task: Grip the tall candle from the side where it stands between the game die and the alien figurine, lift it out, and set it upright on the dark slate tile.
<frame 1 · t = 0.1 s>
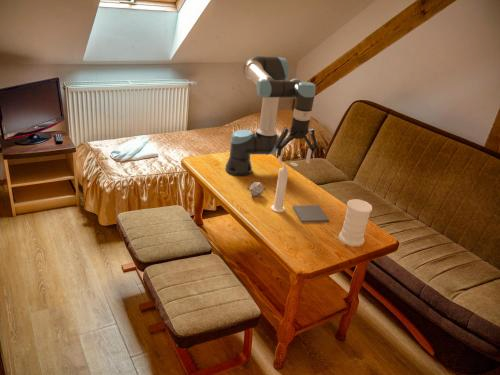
hand: (293, 162, 201), 28 cm above the table, tool pointing down, fingers open, 13 cm apart
slate tile: (310, 214, 216), on the table
decorative container: (351, 239, 200), on the table
game die: (255, 196, 227), on the table
candle: (277, 209, 217), on the table
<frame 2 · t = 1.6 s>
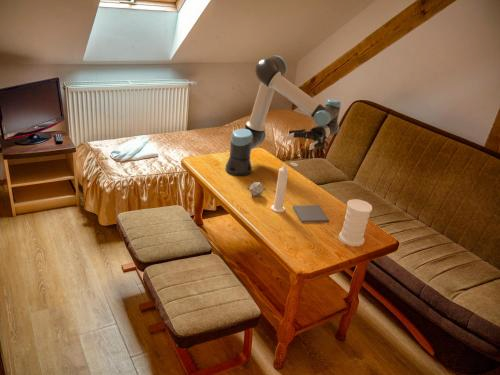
hand: (297, 142, 209), 33 cm above the table, tool horizontal, fingers open, 13 cm apart
nothing on the table moved.
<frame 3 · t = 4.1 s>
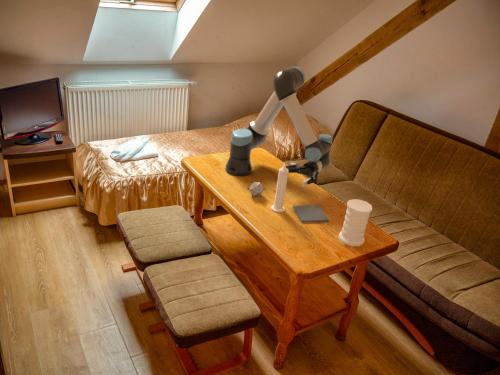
hand: (291, 179, 216), 14 cm above the table, tool horizontal, fingers open, 13 cm apart
nothing on the table moved.
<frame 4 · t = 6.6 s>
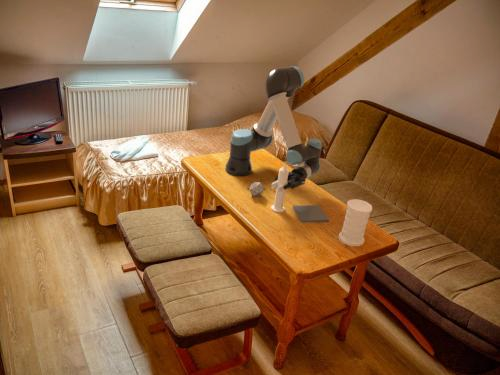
hand: (275, 187, 207), 14 cm above the table, tool horizontal, fingers open, 3 cm apart
candle: (277, 209, 217), on the table, touching gripper
everything else where it was.
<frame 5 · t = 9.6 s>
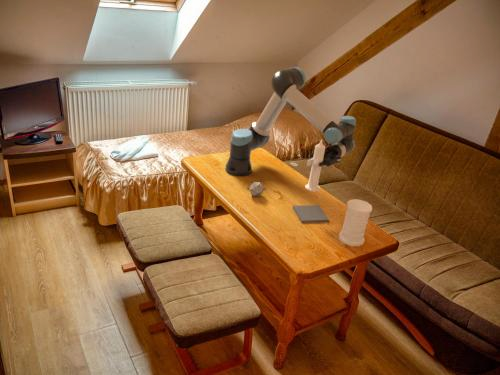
hand: (311, 164, 198), 29 cm above the table, tool horizontal, fingers closed on candle, 3 cm apart
candle: (312, 188, 209), point 15 cm above the table, touching gripper
everything else where it was.
when the fingers open (16 cm above the table, at t = 12.1 s): candle stays where it is, resting on slate tile.
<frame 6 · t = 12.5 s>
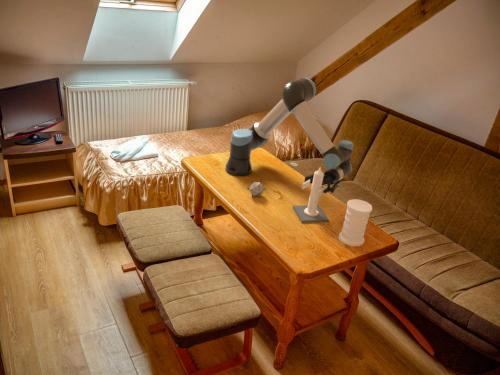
hand: (310, 189, 205), 16 cm above the table, tool horizontal, fingers open, 8 cm apart
candle: (311, 213, 215), point 1 cm above the table, touching slate tile
everything else where it was.
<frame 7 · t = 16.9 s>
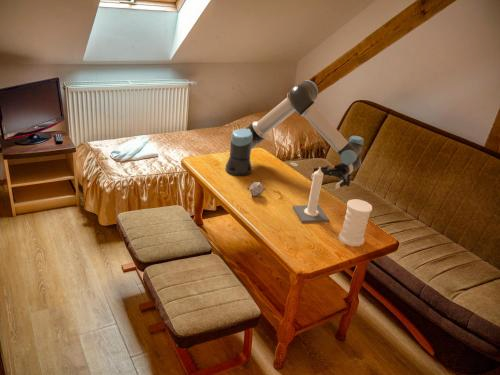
hand: (323, 181, 214), 16 cm above the table, tool horizontal, fingers open, 13 cm apart
nothing on the table moved.
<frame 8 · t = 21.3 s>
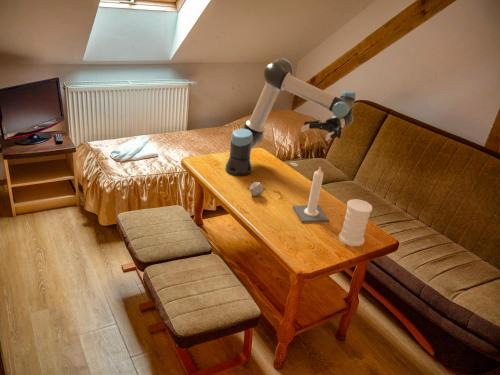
hand: (314, 133, 208), 38 cm above the table, tool horizontal, fingers open, 13 cm apart
nothing on the table moved.
at the end: candle inside the target area on the slate tile (0.3 cm from its centre), point 1.0 cm above the slate tile's base; candle tilted 0°; the gripper is holding nothing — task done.
